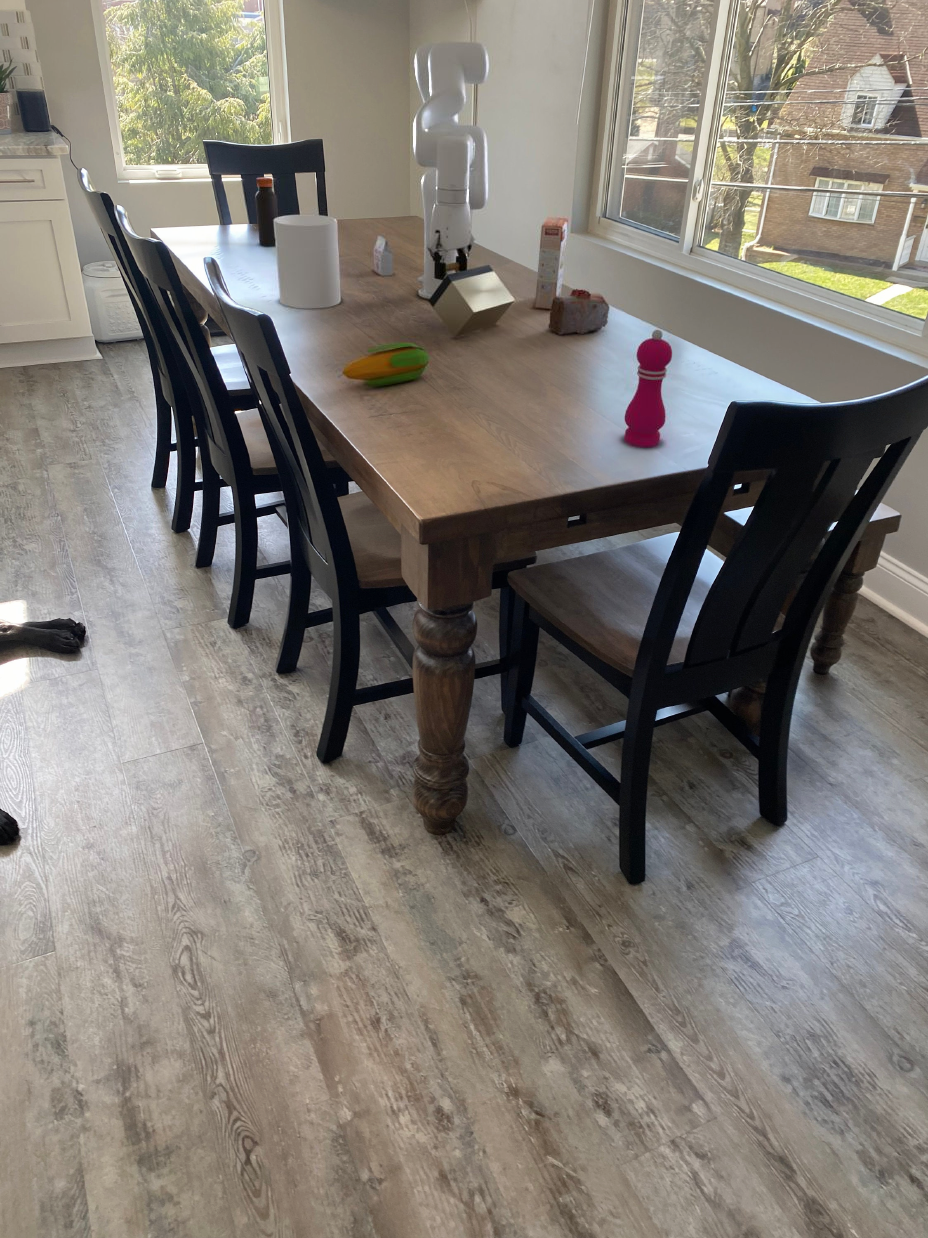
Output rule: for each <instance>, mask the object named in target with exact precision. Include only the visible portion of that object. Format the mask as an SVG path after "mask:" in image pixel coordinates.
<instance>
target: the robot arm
mask: <svg viewBox="0 0 928 1238" xmlns="http://www.w3.org/2000/svg"><path fill="white" fill-rule="evenodd" d="M414 70H415V79H416V83H417V86H418V90H419V93H420V96H421V99H422V102H423V103H422V104H421V106H420V107H419V108H418V110H417V112H416V114H415V117H414V121H413V126H412V136H413V137H412V139H413V154H414V155H413V156H414V159H415V162H416V163H417V165H418V166H420V167H423V168H431V169H430V170H427V171H426V172H425V173H424V174H423V175H422V178H421V182H420V183H421V184H420V188H421V196H422V197H421V198H422V205H423V220H424V223H423V224H424V225H423V226H424V246H423V247H424V249H423V252H424V255H423V266H424V268H423V273H422V274H421V276H418V278H417V281H418V283H421V284H422V287H421V288H420V289H418V296H419V297H420V298H423V299H426V300H429V299H430V298H431V296H432V295H433V293H434V292H435V291H436V289H437V288H438V286H439V285H440V284H441V282H442V281H443V280H444V278H445V277H446V264H451V263H455V262H458V263H459V265H460V267H459V269H458V270H459V271H460V272H461V271H465V270H468V258H469V257H470V252H471V250H472V247H473V245H474V242H475V240H476V238H475V236H474V235H473V234H472V231H471V230H472V226H471V224H472V220H471V210H481V209H484V208H485V206H486V205H487V204H488V200H489V151H488V150H489V149H488V138H487V135H486V132H485V130H484V129H483V128H482V127H480V126H479V125H474V124H473V125H472V124H471V125H469V124H460V123H459V113H461V112H462V110H463V109H464V107H465V105H466V102H467V93H466V84H468V85H482V84H484V83H485V82H486V80H487V78H488V76H489V71H490V60H489V54H488V50H487V48H486V46H485V45H484V44H483V43H481V42H475V41H453V40H452V41H450V40H448V41H441V42H431V43H430V42H429V43H425V44H422V45H420V46H419V47H418V48H417V49H416V52H415V54H414ZM447 273H448V274H452V273H456V272H455V271H454V270H452V271H448V272H447Z"/></svg>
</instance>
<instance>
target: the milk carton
mask: <svg viewBox="0 0 928 1238" xmlns="http://www.w3.org/2000/svg"><path fill="white" fill-rule="evenodd" d="M372 255H373V256H372V257H373V259H372V260H373V272H374V273H376V274H378V276H379V275H380V276H381V277H384V276H394V256H393V252H392V250H391V247H390V246H389V242H388V239H387V238H385V237H383V236H381V235H380V234H379V235H377V239H376V242H375V245H374V247H373V250H372Z"/></svg>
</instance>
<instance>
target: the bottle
mask: <svg viewBox="0 0 928 1238" xmlns="http://www.w3.org/2000/svg"><path fill="white" fill-rule="evenodd" d="M273 185H274V183H273V178H272V177H257V178H256V186H257V188H258V191H257V192H256V194H255V210H256V221H257V230H258V241H259V245H260V246H262V247H276V244H275V243H276V239H275V232H274V219H275V218H277V217H279V212H278V211H279V210H278V198H277V195H276V194H275V192H274V191H273Z"/></svg>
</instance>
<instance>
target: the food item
mask: <svg viewBox="0 0 928 1238" xmlns="http://www.w3.org/2000/svg"><path fill="white" fill-rule="evenodd" d="M570 292H571V293H570V294H565V295H561V296H556V297H554V298H553V301H552V306H551V310H550V313H549V323H548V329H549V330H550V331H551V332H554V333H556V334H558V335H566V334H567V335H569V334H575V333H576V334H580V335H583V334H585V333H589V332H593V331H600V330H602V328H605V327H606V325H607V324H608V322H609V321H608V318H609V312H610V305H609V303H608V302H607V301H606V299H605V297H604V296H603V295H602V294H600V293H596V292H593V293H590V291H588V290H586V289H578V288H576V289H573V290H572V291H570Z"/></svg>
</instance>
